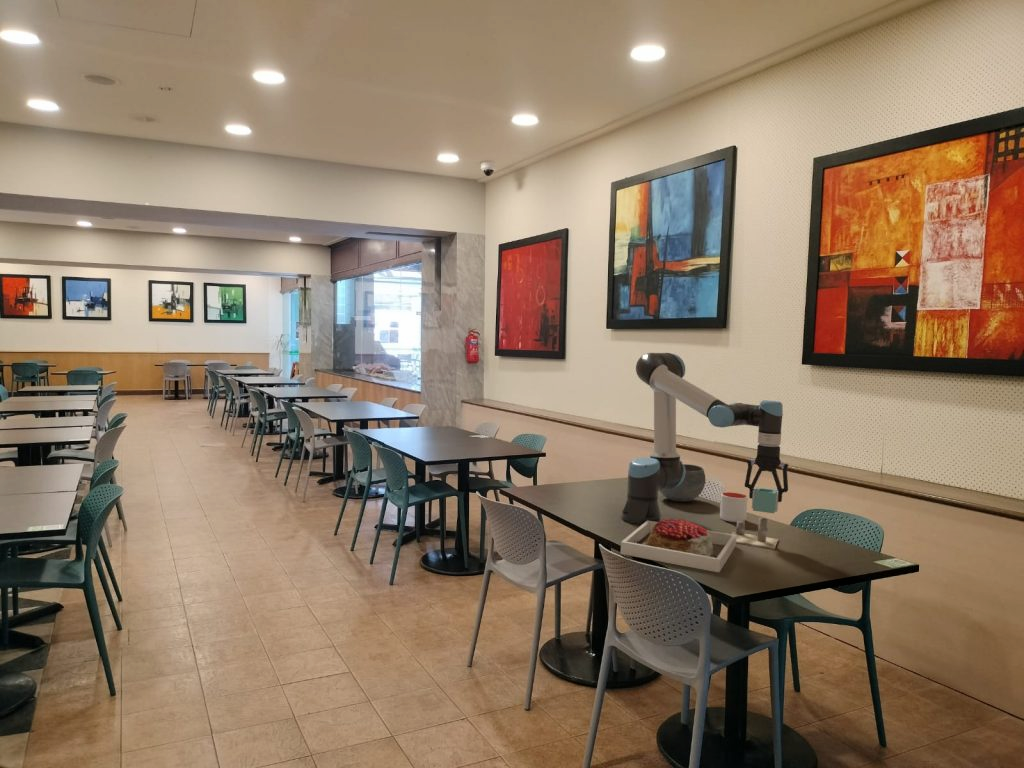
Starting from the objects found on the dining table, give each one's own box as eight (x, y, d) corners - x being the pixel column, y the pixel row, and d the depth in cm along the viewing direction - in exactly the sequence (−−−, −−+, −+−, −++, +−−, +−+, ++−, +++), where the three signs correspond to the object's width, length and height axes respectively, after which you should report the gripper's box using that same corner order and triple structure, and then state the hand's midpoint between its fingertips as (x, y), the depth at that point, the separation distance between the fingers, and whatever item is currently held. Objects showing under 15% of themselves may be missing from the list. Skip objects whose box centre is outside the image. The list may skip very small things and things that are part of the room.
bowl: (709, 499, 312) (712, 466, 311) (694, 509, 294) (697, 473, 293) (664, 492, 323) (666, 459, 322) (647, 500, 306) (649, 466, 304)
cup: (747, 524, 274) (749, 499, 273) (720, 522, 276) (722, 496, 275) (744, 518, 284) (746, 493, 283) (718, 515, 286) (720, 491, 285)
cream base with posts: (726, 541, 250) (728, 517, 249) (732, 533, 260) (733, 510, 260) (774, 549, 243) (776, 525, 242) (778, 540, 253) (780, 517, 253)
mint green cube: (752, 510, 248) (754, 490, 247) (755, 506, 254) (756, 487, 253) (774, 513, 244) (775, 493, 244) (776, 509, 251) (777, 489, 250)
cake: (629, 542, 244) (631, 513, 244) (696, 542, 248) (698, 514, 247) (651, 564, 222) (653, 533, 221) (724, 564, 225) (726, 533, 224)
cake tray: (620, 553, 230) (621, 541, 230) (646, 531, 258) (647, 520, 258) (719, 572, 216) (720, 559, 216) (735, 546, 244) (736, 535, 244)
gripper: (737, 443, 248) (733, 507, 250) (798, 449, 240) (794, 515, 241) (741, 440, 255) (737, 503, 257) (800, 446, 246) (795, 511, 248)
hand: (764, 509), depth 249 cm, fingers closed on mint green cube, 7 cm apart
